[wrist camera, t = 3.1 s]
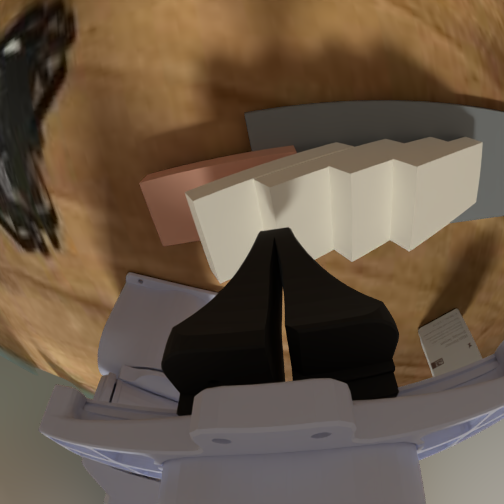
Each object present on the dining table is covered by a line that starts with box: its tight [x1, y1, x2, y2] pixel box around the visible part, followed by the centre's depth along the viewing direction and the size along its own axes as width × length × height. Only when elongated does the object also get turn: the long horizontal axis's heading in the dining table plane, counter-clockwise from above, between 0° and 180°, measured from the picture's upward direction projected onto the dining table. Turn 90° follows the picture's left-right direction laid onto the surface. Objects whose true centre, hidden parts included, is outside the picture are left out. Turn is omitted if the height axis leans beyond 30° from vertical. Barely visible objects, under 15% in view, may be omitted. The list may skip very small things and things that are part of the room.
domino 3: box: [328, 137, 447, 262], centre depth 15 cm, size 2×5×10 cm
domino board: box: [244, 100, 504, 223], centre depth 17 cm, size 26×10×1 cm, turn 100°
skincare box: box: [418, 308, 482, 377], centre depth 24 cm, size 6×4×12 cm
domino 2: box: [253, 139, 404, 260], centre depth 16 cm, size 2×5×10 cm
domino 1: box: [185, 142, 354, 284], centre depth 16 cm, size 2×5×10 cm
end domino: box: [139, 145, 297, 246], centre depth 18 cm, size 2×5×10 cm
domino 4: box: [390, 137, 483, 251], centre depth 15 cm, size 2×5×10 cm
